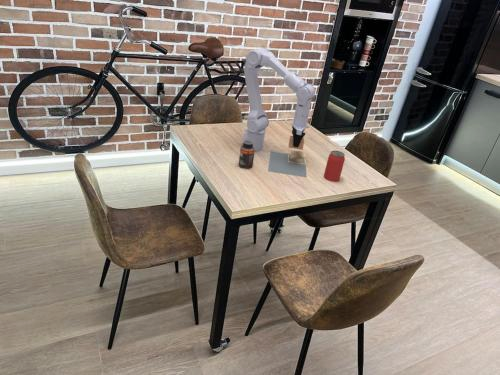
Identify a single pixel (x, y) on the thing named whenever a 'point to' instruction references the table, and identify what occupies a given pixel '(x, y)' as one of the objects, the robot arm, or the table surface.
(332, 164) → the beer can
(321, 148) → the table surface
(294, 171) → the board
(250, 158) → the supplement bottle
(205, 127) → the table surface
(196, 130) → the table surface
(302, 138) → the terracotta block
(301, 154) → the base block
